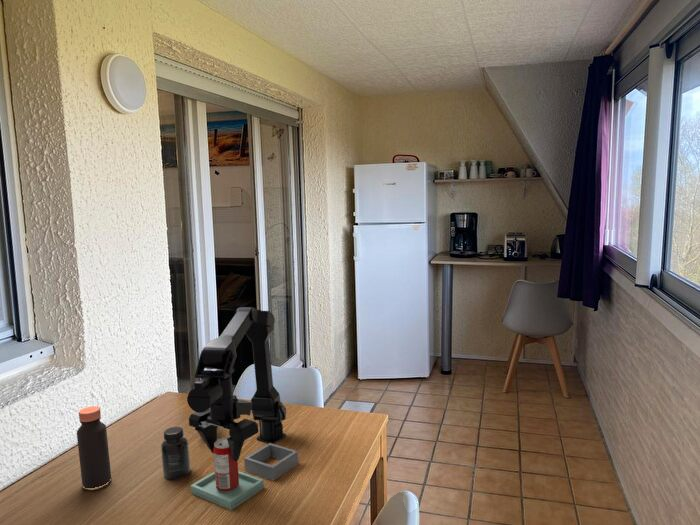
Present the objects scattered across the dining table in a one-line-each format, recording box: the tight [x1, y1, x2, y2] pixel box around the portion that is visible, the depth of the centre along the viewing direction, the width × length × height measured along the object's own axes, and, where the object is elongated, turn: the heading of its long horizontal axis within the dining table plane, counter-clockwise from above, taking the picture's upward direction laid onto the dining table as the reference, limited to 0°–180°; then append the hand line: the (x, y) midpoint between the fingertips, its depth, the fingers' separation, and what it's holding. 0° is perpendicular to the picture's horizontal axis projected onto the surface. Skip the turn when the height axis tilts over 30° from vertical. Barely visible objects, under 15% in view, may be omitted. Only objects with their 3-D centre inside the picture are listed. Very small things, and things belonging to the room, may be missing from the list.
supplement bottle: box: [160, 426, 191, 480], centre depth 139 cm, size 7×7×12 cm
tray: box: [190, 470, 265, 510], centre depth 131 cm, size 14×11×2 cm
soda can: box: [212, 437, 239, 492], centre depth 130 cm, size 6×6×12 cm
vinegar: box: [76, 405, 112, 488], centre depth 135 cm, size 7×7×20 cm
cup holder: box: [243, 443, 299, 482], centre depth 141 cm, size 10×10×4 cm
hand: (225, 456), depth 130 cm, fingers open, 7 cm apart
